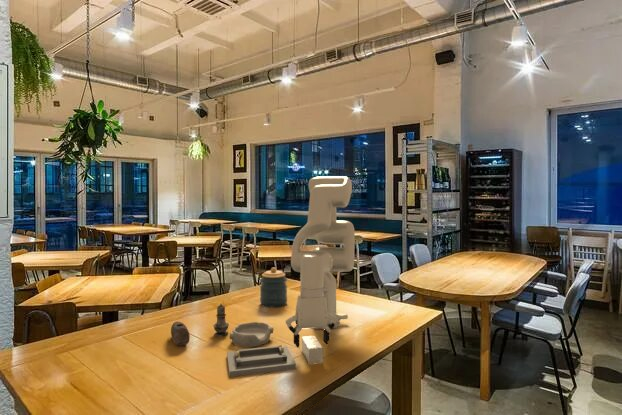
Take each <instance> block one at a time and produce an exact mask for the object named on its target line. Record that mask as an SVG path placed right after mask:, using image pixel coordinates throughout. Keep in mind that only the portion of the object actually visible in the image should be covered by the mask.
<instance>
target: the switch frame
mask: <svg viewBox="0 0 622 415" xmlns="http://www.w3.org/2000/svg"><path fill="white" fill-rule="evenodd" d="M226 360H227V366H228V373H229V377H239V376H245V375H255V374H261V373H262V374H263V373H271V372H279V371H286V370H294V369H295V370H296V369H297V363H296V361H295V358H294V357H293V355H292V353H291V351H290V349H289V348H288V346H287V345H283V346H282V345H272V346H263V347H250V348H243V349H235V350H234V351H229V352H226Z"/></svg>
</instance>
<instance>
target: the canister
mask: <svg viewBox="0 0 622 415" xmlns="http://www.w3.org/2000/svg"><path fill="white" fill-rule="evenodd" d="M259 281H260V286H259V288H260V293H259V294H260V297H259V298H260V299H259V300H260V301H259V302H260V305H261V306H263V307H266V308H279V307H283V306H285V305H287V302H288V289H287V288H288V285H287V281H288V278H287V277H286V273H285V272H283V271H282V270H277V268H276V267H271V268H270V270H266V271H265V272H263V273H262V274H261V278H260V280H259Z"/></svg>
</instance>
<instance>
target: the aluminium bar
mask: <svg viewBox="0 0 622 415" xmlns="http://www.w3.org/2000/svg"><path fill="white" fill-rule="evenodd" d="M301 352H302V354H303V353H304V354H303V356H304V355H305V356H304V357H306V358H305V360H306V359H307V360H306V361H308V362H307V363H309V364H311V365H315V364H314V363H320V364H324V348H323V346H322V345H321V343H320V341H319V339H317V336H316V335H308V336H307V335H306V336H301ZM309 364H308V365H309Z"/></svg>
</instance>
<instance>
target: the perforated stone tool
mask: <svg viewBox="0 0 622 415" xmlns="http://www.w3.org/2000/svg"><path fill="white" fill-rule="evenodd" d="M170 335H171V338H172V340H173V342H174V344H175V345H176V346H179V347H181V346H186V345H188V344H189V342H190V331H189V329H188V327H187V326H186V325H185V324H184V323H183V322H181V321H174V322H173V323H172V325H171V328H170Z"/></svg>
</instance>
